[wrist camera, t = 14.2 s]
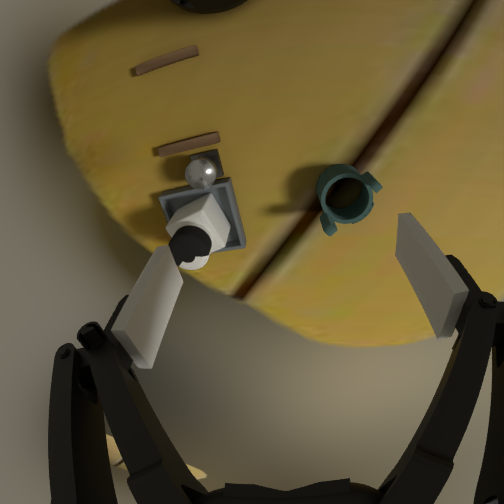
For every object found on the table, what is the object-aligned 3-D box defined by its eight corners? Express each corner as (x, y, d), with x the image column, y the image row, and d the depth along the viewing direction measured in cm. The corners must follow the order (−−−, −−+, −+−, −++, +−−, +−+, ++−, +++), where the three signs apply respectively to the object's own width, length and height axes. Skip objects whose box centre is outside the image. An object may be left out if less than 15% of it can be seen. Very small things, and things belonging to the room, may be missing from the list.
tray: (163, 191, 48) (158, 197, 46) (230, 177, 46) (228, 182, 44) (184, 250, 54) (180, 257, 52) (246, 240, 52) (245, 247, 50)
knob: (190, 154, 44) (181, 163, 40) (217, 148, 43) (211, 156, 39) (198, 180, 47) (189, 192, 42) (224, 174, 46) (219, 186, 41)
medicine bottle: (176, 208, 49) (153, 244, 39) (211, 191, 47) (194, 225, 37) (197, 240, 52) (180, 281, 42) (231, 225, 50) (221, 266, 40)
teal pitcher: (314, 211, 48) (322, 237, 41) (318, 159, 43) (328, 177, 36) (363, 213, 48) (379, 239, 40) (370, 163, 43) (390, 182, 35)
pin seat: (138, 66, 36) (134, 66, 35) (197, 46, 34) (194, 45, 33) (163, 155, 44) (160, 157, 43) (220, 140, 43) (219, 142, 41)
